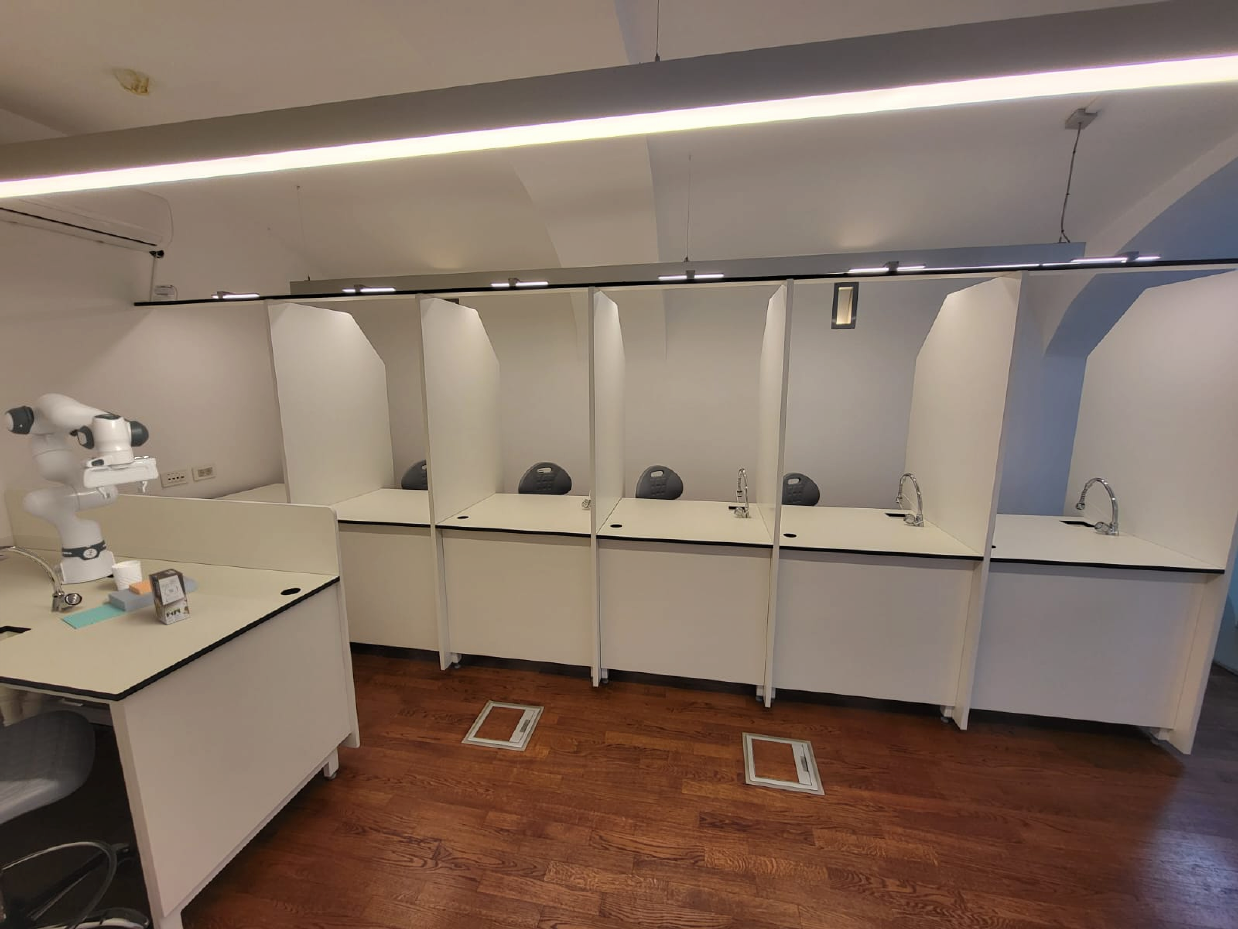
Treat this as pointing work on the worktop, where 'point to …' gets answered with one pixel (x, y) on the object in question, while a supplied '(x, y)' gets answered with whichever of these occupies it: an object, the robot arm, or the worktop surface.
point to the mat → (93, 615)
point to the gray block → (141, 597)
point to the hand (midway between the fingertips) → (124, 495)
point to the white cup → (127, 573)
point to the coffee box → (169, 596)
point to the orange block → (141, 587)
